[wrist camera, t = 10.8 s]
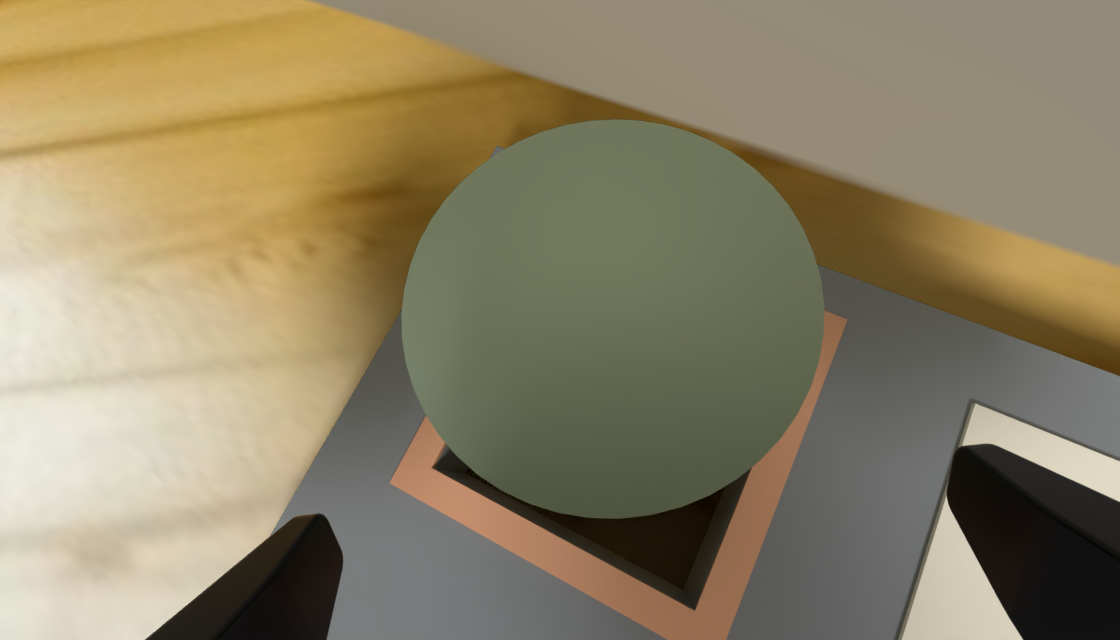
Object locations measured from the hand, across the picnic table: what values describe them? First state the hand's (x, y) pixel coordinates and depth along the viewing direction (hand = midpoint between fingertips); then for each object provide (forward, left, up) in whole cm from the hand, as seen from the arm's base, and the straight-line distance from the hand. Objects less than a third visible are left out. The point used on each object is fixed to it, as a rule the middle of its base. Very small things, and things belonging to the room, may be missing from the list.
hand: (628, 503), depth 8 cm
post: (+1, +2, -9) cm, 9 cm away
